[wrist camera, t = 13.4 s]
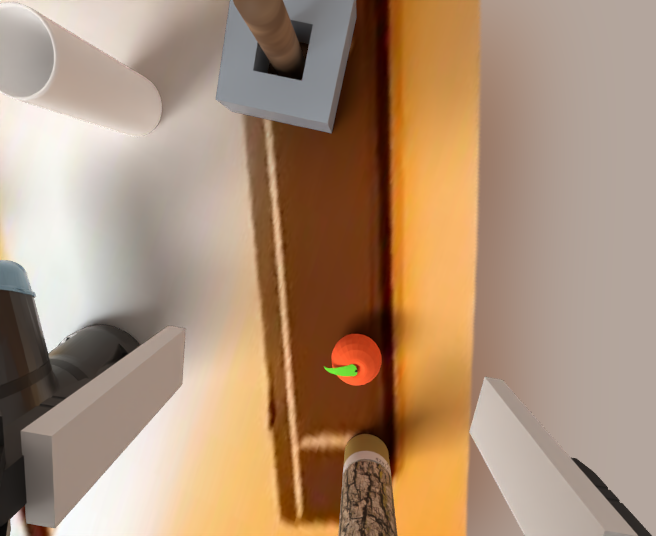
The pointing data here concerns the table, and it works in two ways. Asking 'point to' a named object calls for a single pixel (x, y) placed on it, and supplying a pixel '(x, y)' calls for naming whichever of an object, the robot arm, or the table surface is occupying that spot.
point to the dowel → (274, 35)
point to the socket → (280, 92)
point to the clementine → (355, 359)
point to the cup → (71, 75)
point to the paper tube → (367, 489)
